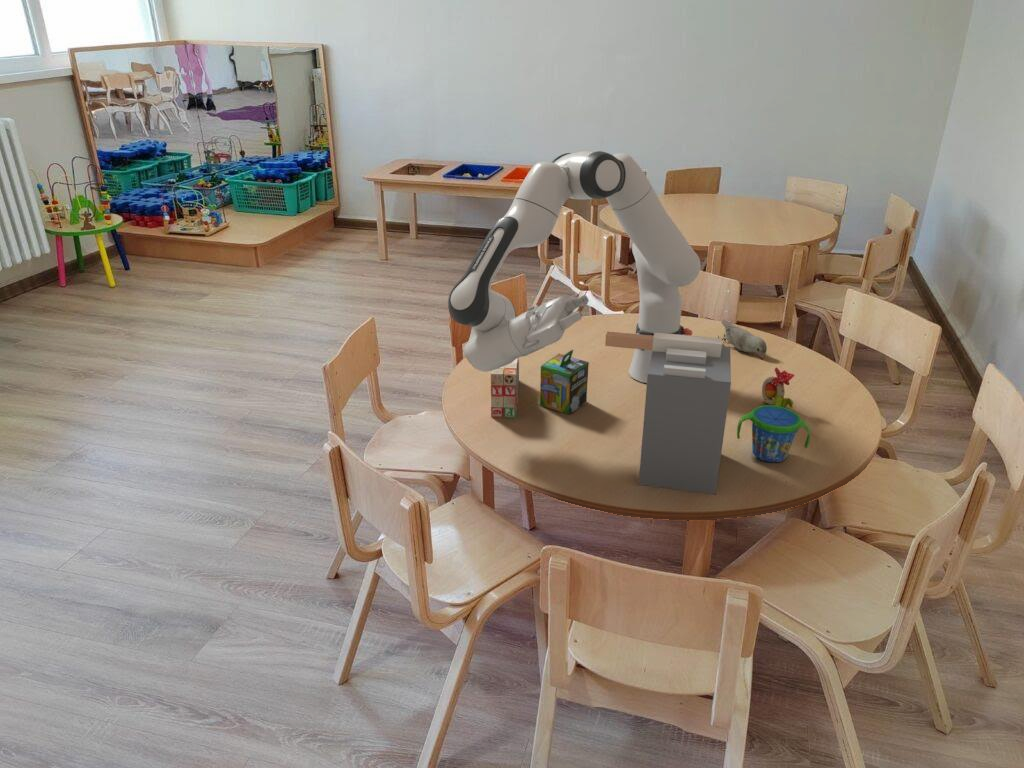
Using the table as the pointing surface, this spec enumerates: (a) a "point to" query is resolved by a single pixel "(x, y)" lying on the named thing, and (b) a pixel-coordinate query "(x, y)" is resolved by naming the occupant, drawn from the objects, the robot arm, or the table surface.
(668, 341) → the lever bar
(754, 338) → the decorative bird
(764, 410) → the snack cup
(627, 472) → the table surface
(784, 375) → the bird rattle
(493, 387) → the stack of blocks
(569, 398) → the chalk box
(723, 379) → the cabinet
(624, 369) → the table surface
